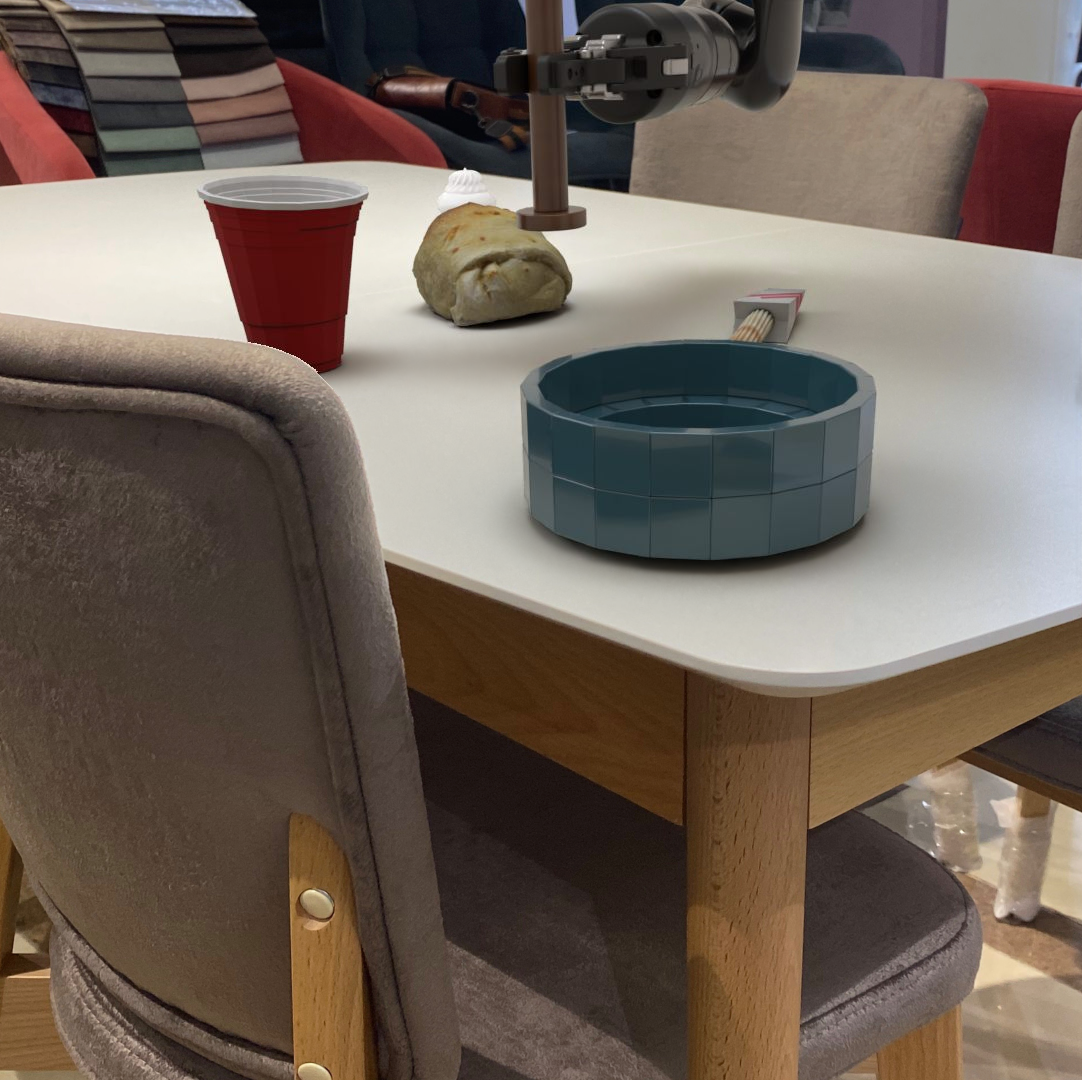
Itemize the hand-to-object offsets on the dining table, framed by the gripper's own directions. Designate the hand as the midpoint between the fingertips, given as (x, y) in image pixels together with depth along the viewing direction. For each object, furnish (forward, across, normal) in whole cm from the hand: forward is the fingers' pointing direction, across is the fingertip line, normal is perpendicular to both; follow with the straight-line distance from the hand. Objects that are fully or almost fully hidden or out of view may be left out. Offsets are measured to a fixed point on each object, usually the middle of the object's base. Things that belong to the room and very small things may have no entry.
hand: (522, 76), depth 75 cm
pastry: (-17, -13, +18) cm, 28 cm away
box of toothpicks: (-14, +10, +18) cm, 25 cm away
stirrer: (-3, 0, +9) cm, 9 cm away
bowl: (+17, +18, +18) cm, 31 cm away
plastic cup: (+3, -16, +18) cm, 24 cm away
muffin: (-46, -33, +18) cm, 60 cm away
